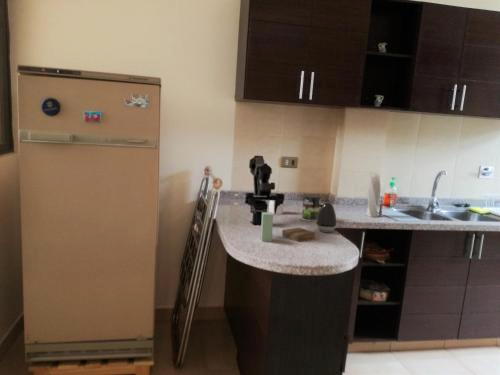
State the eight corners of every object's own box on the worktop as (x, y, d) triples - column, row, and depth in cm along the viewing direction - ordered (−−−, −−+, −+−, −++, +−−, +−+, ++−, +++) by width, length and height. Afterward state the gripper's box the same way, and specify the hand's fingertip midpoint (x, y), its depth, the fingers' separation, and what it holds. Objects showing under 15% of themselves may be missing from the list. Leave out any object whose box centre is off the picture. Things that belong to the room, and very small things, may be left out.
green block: (260, 238, 180) (261, 212, 179) (270, 238, 181) (271, 212, 179) (262, 241, 176) (263, 214, 174) (271, 241, 176) (273, 214, 175)
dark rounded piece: (314, 228, 205) (315, 200, 202) (333, 229, 204) (335, 201, 202) (316, 233, 194) (318, 203, 192) (337, 234, 194) (339, 204, 192)
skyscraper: (371, 218, 239) (374, 173, 235) (362, 215, 246) (366, 171, 242) (382, 217, 242) (385, 173, 238) (373, 215, 249) (377, 171, 245)
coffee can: (313, 222, 219) (314, 197, 217) (298, 219, 226) (299, 195, 224) (323, 219, 227) (324, 196, 225) (308, 216, 234) (309, 193, 232)
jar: (281, 211, 246) (282, 193, 244) (284, 214, 238) (285, 195, 236) (267, 211, 245) (268, 192, 244) (269, 214, 237) (270, 194, 235)
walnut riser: (281, 237, 186) (282, 229, 186) (298, 234, 193) (299, 227, 192) (297, 242, 177) (298, 235, 177) (314, 239, 184) (315, 232, 183)
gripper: (246, 175, 184) (247, 202, 174) (284, 177, 186) (288, 203, 176) (244, 190, 193) (245, 216, 183) (281, 190, 195) (284, 216, 185)
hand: (265, 213), depth 182 cm, fingers open, 9 cm apart
